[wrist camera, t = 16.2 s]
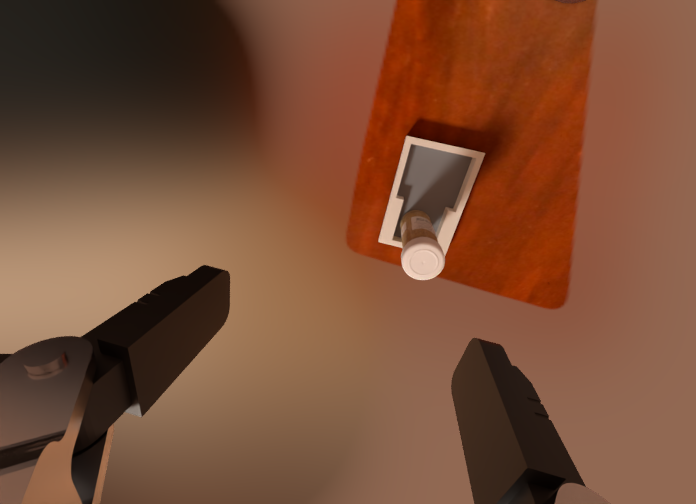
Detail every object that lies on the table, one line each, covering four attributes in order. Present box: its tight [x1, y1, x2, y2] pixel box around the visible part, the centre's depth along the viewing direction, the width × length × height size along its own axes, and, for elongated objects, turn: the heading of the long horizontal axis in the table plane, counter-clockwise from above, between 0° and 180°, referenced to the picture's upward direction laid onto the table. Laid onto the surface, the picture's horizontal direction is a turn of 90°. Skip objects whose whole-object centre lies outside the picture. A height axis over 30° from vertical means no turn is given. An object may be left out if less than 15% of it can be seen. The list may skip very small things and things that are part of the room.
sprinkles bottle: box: [400, 210, 445, 280], centre depth 35 cm, size 5×5×14 cm
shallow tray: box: [378, 136, 485, 256], centre depth 39 cm, size 15×10×2 cm, turn 169°
